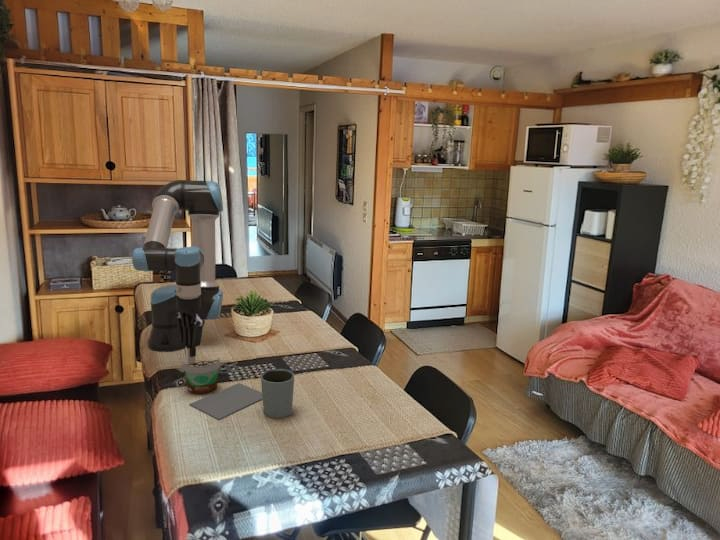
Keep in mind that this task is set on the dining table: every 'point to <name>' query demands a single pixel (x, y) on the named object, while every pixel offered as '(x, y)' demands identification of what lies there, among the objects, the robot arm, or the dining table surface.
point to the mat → (228, 401)
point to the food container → (202, 376)
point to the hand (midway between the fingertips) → (190, 364)
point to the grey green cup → (277, 392)
